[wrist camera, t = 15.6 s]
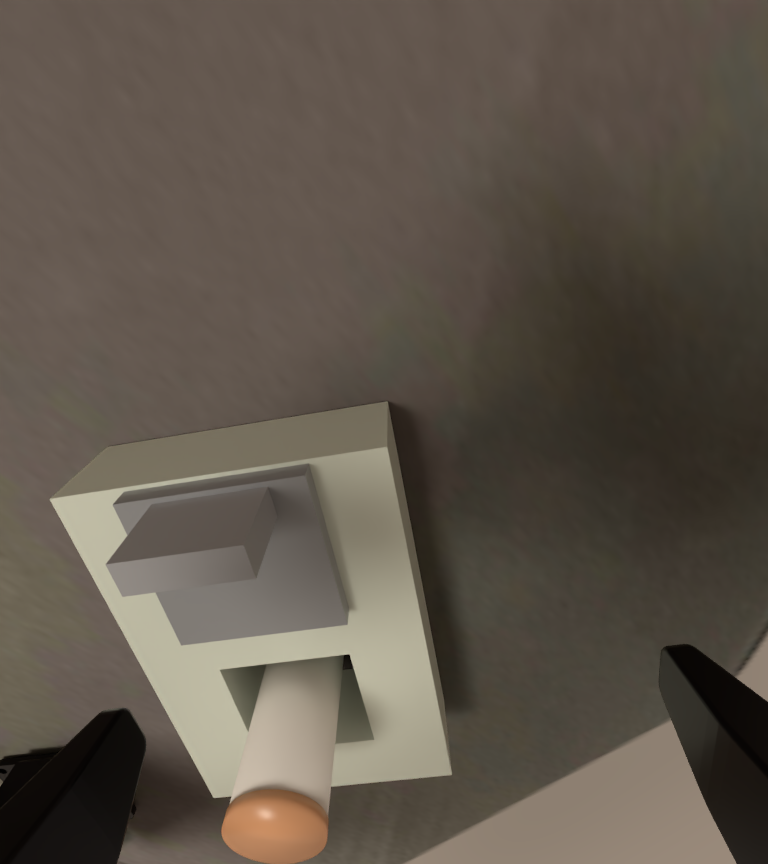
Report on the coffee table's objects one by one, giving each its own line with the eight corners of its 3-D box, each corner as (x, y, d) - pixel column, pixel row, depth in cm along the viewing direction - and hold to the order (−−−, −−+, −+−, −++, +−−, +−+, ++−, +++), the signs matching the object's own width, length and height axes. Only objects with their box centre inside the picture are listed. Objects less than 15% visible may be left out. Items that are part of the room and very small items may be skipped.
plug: (353, 653, 26) (337, 859, 18) (285, 662, 27) (239, 867, 19) (338, 601, 25) (313, 800, 17) (266, 610, 25) (207, 810, 17)
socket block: (444, 699, 28) (451, 774, 24) (235, 722, 29) (213, 797, 25) (387, 401, 20) (387, 446, 17) (107, 446, 21) (49, 498, 18)
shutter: (349, 608, 20) (340, 697, 16) (188, 629, 20) (147, 718, 17) (308, 463, 17) (288, 532, 13) (123, 491, 17) (58, 565, 14)
